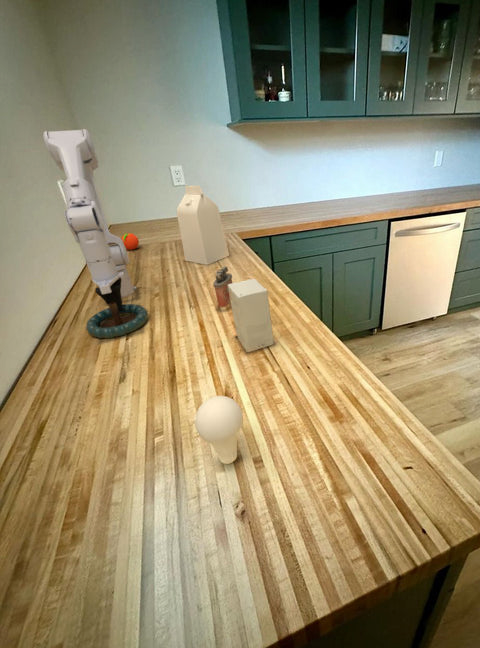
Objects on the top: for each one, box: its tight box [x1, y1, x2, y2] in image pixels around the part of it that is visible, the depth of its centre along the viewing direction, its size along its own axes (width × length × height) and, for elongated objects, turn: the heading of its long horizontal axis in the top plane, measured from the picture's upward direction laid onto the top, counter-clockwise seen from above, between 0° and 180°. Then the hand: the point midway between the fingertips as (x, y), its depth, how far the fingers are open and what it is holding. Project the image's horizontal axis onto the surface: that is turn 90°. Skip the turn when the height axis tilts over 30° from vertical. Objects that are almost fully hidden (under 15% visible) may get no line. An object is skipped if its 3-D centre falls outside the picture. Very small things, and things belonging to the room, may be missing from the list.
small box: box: [228, 278, 275, 353], centre depth 72 cm, size 8×6×13 cm
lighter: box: [212, 265, 233, 308], centre depth 90 cm, size 8×3×10 cm, turn 168°
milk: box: [176, 185, 230, 266], centre depth 123 cm, size 12×12×26 cm
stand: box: [99, 302, 141, 330], centre depth 82 cm, size 9×9×7 cm
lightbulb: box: [194, 395, 244, 465], centre depth 45 cm, size 6×6×11 cm
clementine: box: [120, 232, 140, 251], centre depth 145 cm, size 8×7×7 cm
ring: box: [85, 303, 149, 339], centre depth 83 cm, size 14×14×2 cm
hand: (118, 309), depth 87 cm, fingers closed on ring, 2 cm apart
